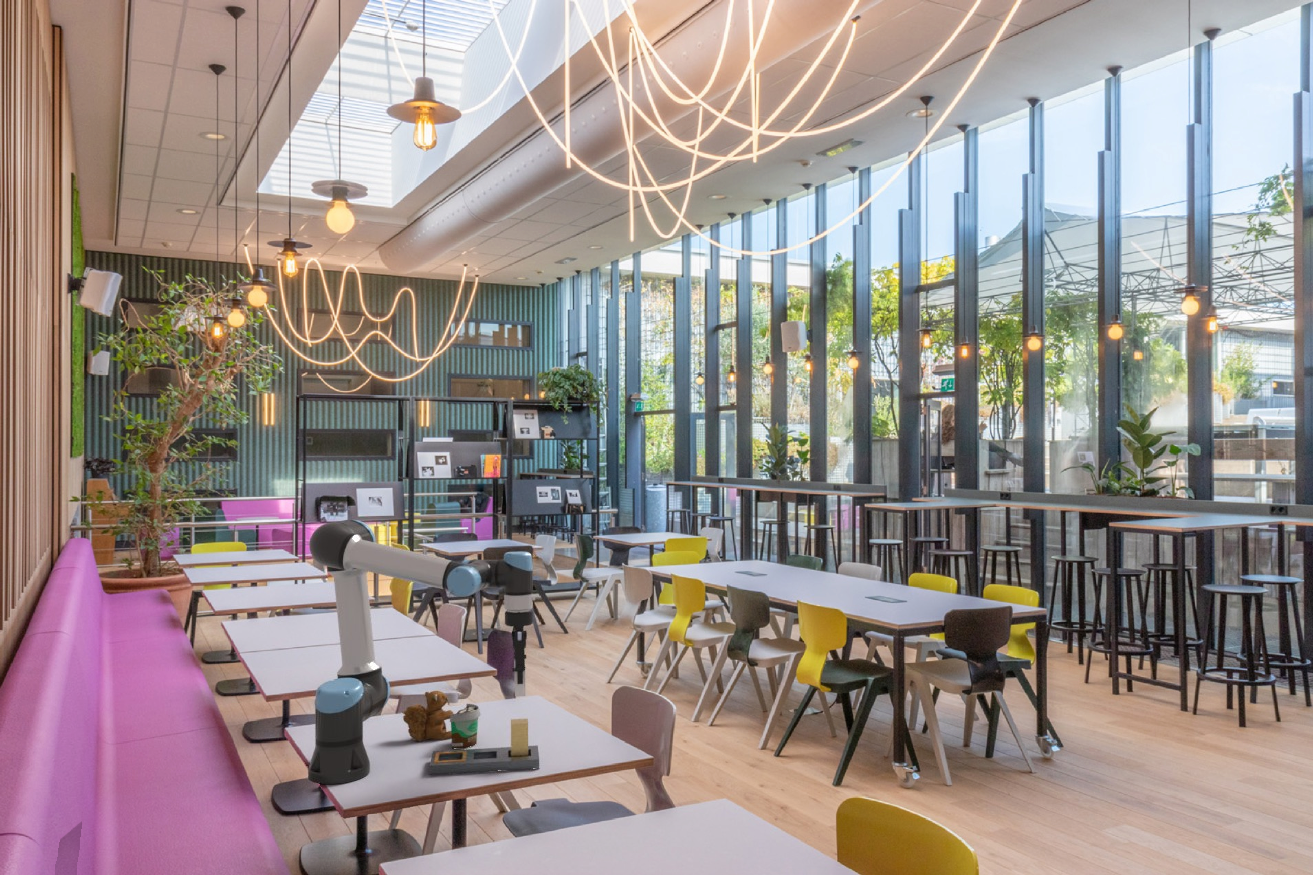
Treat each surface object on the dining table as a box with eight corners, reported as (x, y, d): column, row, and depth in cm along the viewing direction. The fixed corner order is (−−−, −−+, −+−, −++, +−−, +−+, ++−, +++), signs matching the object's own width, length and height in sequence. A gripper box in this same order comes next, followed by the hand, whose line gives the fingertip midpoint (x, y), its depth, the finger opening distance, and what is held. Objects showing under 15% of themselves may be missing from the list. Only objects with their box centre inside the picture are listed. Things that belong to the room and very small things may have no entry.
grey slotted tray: (429, 775, 239) (429, 764, 240) (432, 760, 251) (432, 750, 251) (539, 768, 244) (539, 758, 244) (537, 754, 256) (537, 744, 256)
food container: (470, 751, 259) (470, 715, 259) (449, 750, 260) (449, 714, 260) (487, 738, 271) (487, 703, 271) (467, 737, 272) (467, 703, 272)
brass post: (511, 765, 246) (510, 724, 247) (511, 760, 251) (510, 719, 251) (528, 764, 247) (528, 723, 247) (527, 759, 252) (527, 718, 252)
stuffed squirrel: (458, 737, 272) (458, 692, 273) (411, 746, 264) (411, 699, 265) (445, 729, 281) (445, 685, 281) (399, 737, 273) (399, 692, 273)
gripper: (534, 616, 238) (535, 700, 238) (531, 602, 263) (532, 678, 262) (504, 618, 237) (505, 702, 237) (504, 603, 262) (505, 679, 261)
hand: (519, 689), depth 250 cm, fingers open, 13 cm apart
